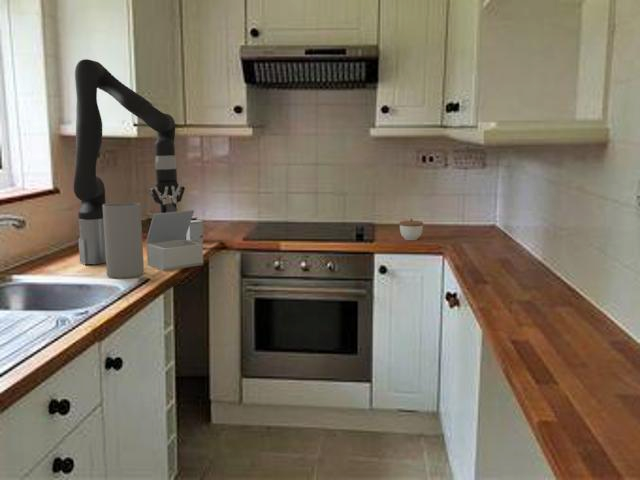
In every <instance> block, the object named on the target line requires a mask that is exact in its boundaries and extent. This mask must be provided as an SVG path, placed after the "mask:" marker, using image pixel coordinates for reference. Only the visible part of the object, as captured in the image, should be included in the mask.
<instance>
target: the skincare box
mask: <svg viewBox="0 0 640 480" xmlns="http://www.w3.org/2000/svg"><path fill="white" fill-rule="evenodd" d="M203 225H204V224H203V220H200V219H196V220H192V221H191V222H190V225H189V228H188V231H187V235H186V240H190V241H193V242H197V243H200V244H203V245H204V229H203V228H204V226H203Z"/></svg>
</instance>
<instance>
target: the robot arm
mask: <svg viewBox="0 0 640 480" xmlns="http://www.w3.org/2000/svg"><path fill="white" fill-rule="evenodd" d="M74 84H75V94H76V109H75V112H76V113H75V114H76V115H75V116H76V118H75V169H74V170H75V171H74V180H73V193H74V195H75V197H76V198H77V199H78V200H80V201H81V203H80V208H79V210H78V213H77V214H78V226H79V227H78V229H79V238H78V241H77V242H78V254H79V263H80V262H82V263H84V264H93V265H101V263H102V264H105V263H106V251H105V236H104V220H103V204H106V187H105V184H104V182H103V180H102V179H101V178H100V177H99V176H97V161H98V157H99V154H100V151H101V147H102V143H103V119H102V116H101V113H100V109H99V105H98V99H97V97H98V89H99V90H101V91H103V92H105V93H106V94H108V95H109V96H111V97H112V98H113V99H115V100H116V101H117V102H118V103H119V104H120V105H121V107H123V108H124V109H125V110H127V111H128V112H130V113H131V114H133V115H134V116H135V117H138V119H140V120H142V121H143V122H144V124H146V125H147V126H148V127H149V128H151V129H152V130H153V131H155V132H156V140H155V143H154V153H155V161H154V162H155V163H154V164H155V167H154V168H155V176H156V184H155V187H152V188H149V192H150V195H151V197H152V198H153V200H154V203H155V204H159V205H160V213H167V211H166V205H165V204H167V202H166V201H167V198H168V197H169V199H170V203H172V204H173V205H174V207H175V209H176V210H177V203H179V202H181V201H182V198H183V195H184V192H185V190H186V187H185V186H181V185H179V183H178V172H177V160H176V151H175V150H176V149H175V135H176V121H175V119H174V118H173V116H171V114H168V113H164V112H162V111H161V110H159V109H158V108H156V107H154V105H153V104H152V103H151V102H150V101H149V100H148V99H146V98H145V97H143V96H141V95H140V94H138V93H137V92H136V91H134V90H133V89H131V88H130V87H128V86H126V85H125V84H124V83H123V82H121V81H120V80H119V79H118V78H116V77H115V76H114V75H113V74H112V73H111V72H110V71H109V70H108V69H107V68H106V67H105V66H104V65H103V64H102V63H100V62H98V61H96V60H92V59H85V58H84V59H81V60H80V61H78V62H77V63H76V65H75V67H74ZM176 191H177V193H176ZM158 192H159V194H158ZM177 211H178V210H177ZM82 263H81V264H82ZM84 264H83V265H84Z"/></svg>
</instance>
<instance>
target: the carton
mask: <svg viewBox="0 0 640 480" xmlns="http://www.w3.org/2000/svg"><path fill="white" fill-rule="evenodd" d="M145 244H146V243H145ZM145 246H146V259H147V260H146V262H147V263H146V265H148V266H149V267H152V268H155V269H157V270H160V271H163V272H165V271H167V272H168V271H173V270H179V269H180V270H181V269H186V268H194V267H198V266H204V243H203V244H200V243H197V242H193V241H190V240H186V239H183V240H173V241H165V242H157V243H149V244H146V245H145Z"/></svg>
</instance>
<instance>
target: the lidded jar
mask: <svg viewBox="0 0 640 480" xmlns="http://www.w3.org/2000/svg"><path fill="white" fill-rule="evenodd" d="M398 224H399V232H400V234H401V236H402V238H403V239H404V240H406V241H416V240H419V239H418V238H420V237H421V236H422V233H423V227H424V222H423V221H422V220H421V221H420V220H414V219H413V218H410V220H402V221H401V220H400V221H399V223H398Z"/></svg>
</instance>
